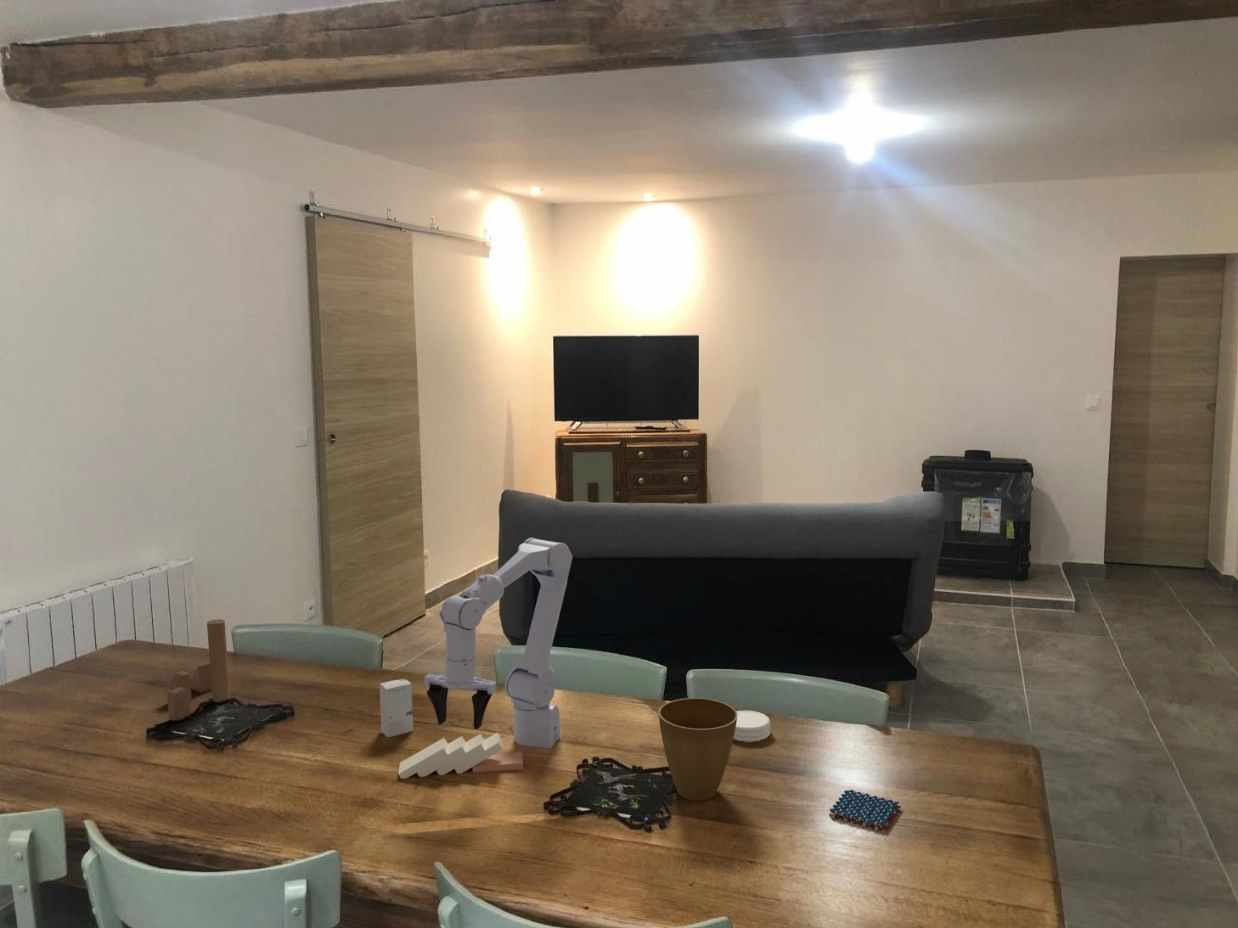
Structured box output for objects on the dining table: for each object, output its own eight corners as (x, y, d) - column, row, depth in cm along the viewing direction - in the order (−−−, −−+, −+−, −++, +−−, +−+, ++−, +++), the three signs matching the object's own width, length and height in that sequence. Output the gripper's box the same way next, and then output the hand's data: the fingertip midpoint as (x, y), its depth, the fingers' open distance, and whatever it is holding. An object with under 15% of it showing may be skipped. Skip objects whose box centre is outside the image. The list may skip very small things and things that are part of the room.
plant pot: (685, 818, 168) (684, 734, 166) (645, 784, 181) (644, 706, 179) (752, 799, 175) (753, 718, 173) (709, 767, 188) (709, 691, 186)
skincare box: (387, 743, 201) (385, 689, 200) (380, 735, 205) (378, 683, 203) (414, 736, 205) (412, 683, 203) (407, 729, 208) (405, 677, 207)
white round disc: (718, 739, 201) (718, 724, 201) (731, 721, 211) (731, 706, 210) (764, 746, 198) (764, 730, 197) (774, 728, 207) (774, 713, 206)
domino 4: (458, 763, 189) (501, 738, 190) (458, 774, 184) (502, 748, 185) (454, 757, 189) (497, 732, 190) (454, 768, 184) (498, 742, 185)
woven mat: (886, 836, 162) (886, 825, 162) (827, 820, 168) (827, 810, 167) (902, 810, 171) (903, 800, 171) (846, 796, 176) (846, 786, 176)
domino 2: (422, 767, 188) (465, 742, 189) (420, 778, 183) (465, 752, 184) (418, 760, 188) (461, 735, 188) (416, 772, 183) (461, 746, 183)
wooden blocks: (198, 683, 239) (192, 607, 236) (243, 699, 227) (237, 620, 225) (132, 704, 225) (125, 625, 222) (176, 723, 214) (169, 639, 211)
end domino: (472, 763, 189) (522, 759, 191) (472, 774, 184) (523, 770, 186) (472, 755, 189) (521, 751, 191) (472, 766, 184) (523, 762, 186)
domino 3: (441, 765, 189) (484, 739, 189) (440, 776, 184) (484, 750, 184) (437, 759, 188) (480, 733, 189) (436, 770, 183) (480, 743, 184)
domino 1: (404, 768, 187) (448, 743, 188) (402, 780, 182) (447, 754, 183) (400, 762, 187) (444, 737, 188) (398, 773, 182) (443, 748, 183)
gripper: (417, 659, 180) (416, 727, 181) (486, 667, 177) (485, 736, 178) (433, 649, 187) (433, 715, 188) (501, 656, 183) (500, 723, 184)
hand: (459, 724), depth 183 cm, fingers open, 7 cm apart
